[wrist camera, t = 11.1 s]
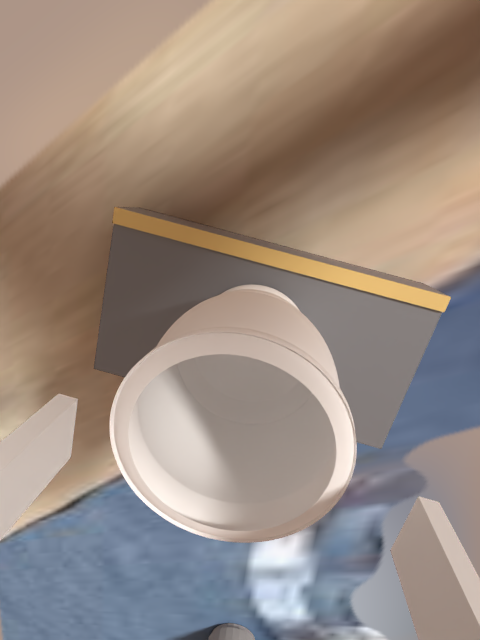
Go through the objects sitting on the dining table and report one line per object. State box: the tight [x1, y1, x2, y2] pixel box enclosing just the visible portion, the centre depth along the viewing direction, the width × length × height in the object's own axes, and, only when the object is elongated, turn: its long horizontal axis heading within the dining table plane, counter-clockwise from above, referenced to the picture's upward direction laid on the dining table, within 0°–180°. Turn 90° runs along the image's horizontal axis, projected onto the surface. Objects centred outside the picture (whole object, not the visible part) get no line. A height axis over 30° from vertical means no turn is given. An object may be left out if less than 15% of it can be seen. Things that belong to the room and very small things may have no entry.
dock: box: [94, 207, 451, 449], centre depth 32 cm, size 26×14×5 cm, turn 76°
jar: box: [110, 284, 357, 542], centre depth 22 cm, size 11×10×15 cm
